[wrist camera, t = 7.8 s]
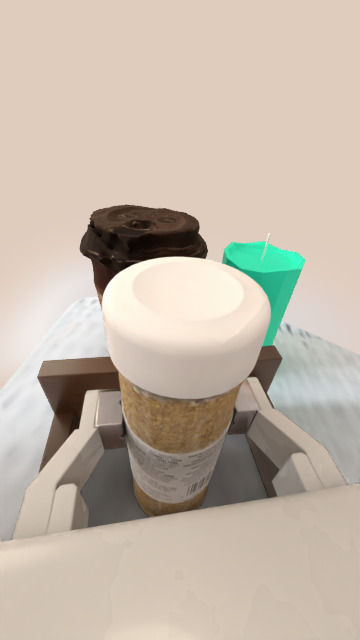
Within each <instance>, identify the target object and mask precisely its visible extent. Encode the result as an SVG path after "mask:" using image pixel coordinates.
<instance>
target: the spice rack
mask: <svg viewBox="0 0 360 640" xmlns="http://www.w3.org/2000/svg"><path fill="white" fill-rule="evenodd" d="M281 361H282V357H281V355H280V354H279V352H278V351H277V349H276V347H275V346H274V345H273V346H262V348H261V350H260V353H259V356H258V359H257V362H256V364H255V366H254V368H253V370H252V371H251V373H250V374H249V376H248V377H247V378H249V377H256V378H257V379H258V380H259V382H260V384H261V386H262V388H263V390H264V392H265V394H266V396H267V398H268V400H269V402H270V404H271V406H272V408H273V409H275V408H274V406H273V404H272V402H271V400H270V398H269V396H268V394H267V391H268V389H269V387H270V385H271V383H272V380H273V378H274V376H275V374H276V372H277V370H278V367H279V365H280V363H281ZM37 378H38V380H39V382H40V384H41V386H42V389H43V391H44V393H45V395H46V397H47V399H48V401H49V403H50V405H51V407H52V409H53V411H54V418H53V422H52V425H51V429H50V433H49V437H48V440H47V444H46V448H45V451H44V455H43V459H42V462H41V466H40V470H39V473H40V472H41V470H42V469H43V468H44V467H45V466H46V464H47V463H48V462H49V461H50V459H51V458H52V457H53V456H54V455H55V453H56V452H57V451H58V450H59V449H60V447H61V446H62V445H63V444H64V442H65V441H66V440H67V439H68V438H69V436H70V435H71V434H72V433H73V432H74V430H75V429H79V426H80V421H81V415H82V410H83V404H84V399H85V394H86V392H87V391H89V390H103V389H119V388H120V381H119V372H118V370H117V369H116V367H115V365H114V364H113V362H112V360H111V358H110V357H96V358H81V359H67V360H52V361H43V363H42V366H41V369H40V371H39V374H38V377H37ZM245 434H246V436H247V439H248V442H249V445H250V448H251V450H252V453H253V456H254V459H255V461H256V464H257V467H258V470H259V472H260V475H261V478H262V481H263V484H264V486H265V489H266V492H267V495H268V497H269V498H272V497H278V496H277V494H276V491H275V489H274V486H273V483H272V480H273V478H274V477H275V475H276V474H277V473H278V471H279V468H278V467H277V466H276V465H275V464H274V463H273V462H272V461H271V460H270V459H269V458H268V457H267V455H266V454H265V453H264V452H263V451H262V450H261V449H260V448H259V447H258V446H257V445H256V444H255V442H254V441H253V440H252V439H251V438H250V437H249V436H248V435H247V433H245ZM39 473H38V474H39Z"/></svg>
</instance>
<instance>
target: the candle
mask: <svg viewBox="0 0 360 640" xmlns="http://www.w3.org/2000/svg"><path fill="white" fill-rule="evenodd" d="M269 238H270V234H268V238H267V241H266V242H264V241H263V242H253V243H236V242H232V243H230V244H229V245H228V246H227V247H226V248H225V249H224V255H223V262H222V264H225V265H228V266H230V267H233V268H235V269H237V270H239V271H241V272H243V273H245V274H246V275H248V276H249V277H250V278H252V279H253V280H254V281H255V282H256V283H257V284H258V285H260V287H261V288H262V289H263V290H264V292H265V294H266V295H267V297H268V300H269V303H270V307H271V318H270V323H269V326H268V329H267V333H266V336H265V339H264V342H263V345H262V346H271V345H272V343H273V340H274V338H275V335H276V333H277V330H278V328H279V325H280V323H281V320H282V318H283V315H284V313H285V310H286V308H287V305H288V303H289V300H290V298H291V295H292V293H293V290H294V288H295V285H296V283H297V280H298V278H299V275H300V273H301V270H302V268H303V265H304V263H305V259H304V258H303V257H302V256H301V255H300V254H298V253H297V252H291V251H286V250H281V249H279V248H277V247H274V246H272V245H270V244H268V241H269Z"/></svg>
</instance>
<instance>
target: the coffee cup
mask: <svg viewBox="0 0 360 640" xmlns="http://www.w3.org/2000/svg"><path fill="white" fill-rule="evenodd" d="M90 220H91V221H90V224H89V225H88V230H87V232H86V233H85V234H84V236H83V238H82V240H81V244H80V252H81V253H82V254H83V255H84V256H86V257H88V258H90V259H91V261H92V264H93V271H94V283H95V287H96V289H97V293H98V298H99V301H100V304H101V308H102V299H103V294H104V291H105V289H106V287H107V285H108V284H109V282H110V281H111V280H112V279H113V278H114V277H115V276H116V275H117V274H118V273H120V272H121V271H123V270H124V269H126V268H128V267H130V266H132V265H134V264H137V263H140V262H143V261H147V260H151V259H156V258H164V257H192V258H201V259H205V258H206V256H207V252H208V250H207V245H206V242H205V241H204V240H203V238H202V237H201V236H200V234H198V232H199V222H198V220H197V219H196V218H194V217H192V216H191V215H188V214H187V213H184V212H178V211H173V210H169V209H166V208H162V209H160V208H159V209H154V208H148V207H142V206H134V205H121V206H113V207H110V208H103V209H99V210H96V211H94V212H93V214H92V215H91V218H90Z"/></svg>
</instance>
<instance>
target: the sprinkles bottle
mask: <svg viewBox="0 0 360 640" xmlns="http://www.w3.org/2000/svg"><path fill="white" fill-rule="evenodd" d="M102 312H103V319H104V327H105V333H106V340H107V346H108V351H109V355H110V358H111V360H112V362H113V364H114V365H115V367H116V369H117V370H118V372H119V381H120V389H121V395H122V411H123V418H124V425H125V431H126V439H127V445H128V452H129V458H130V464H131V469H132V473H133V490H134V495H135V497H136V499H137V501H138V504H139V505H140V507H141V508H142V510H143V511H144V512H145V513H146V514H147V515H148V516H150V517H156V516H162V515H168V514H174V513H180V512H186V511H192V510H197V509H198V508H199V507H200V506H201V504H202V502H203V500H204V497H205V495H206V492H207V487H208V482H209V481H210V478H211V476H212V473H213V471H214V468H215V465H216V462H217V460H218V457H219V455H220V452H221V449H222V446H223V444H224V441H225V438H226V435H227V432H228V429H229V426H230V423H231V420H232V417H233V410H234V407H235V404H236V400H237V396H238V393H239V390H240V388H241V385H242V383H243V382H244V381H245V379H246V378H247V377H248V376H249V374H250V373H251V371H252V370H253V368H254V366H255V364H256V362H257V359H258V356H259V353H260V350H261V348H262V345H263V342H264V339H265V336H266V333H267V329H268V326H269V323H270V318H271V307H270V303H269V300H268V297H267V295H266V294H265V292H264V290H263V289H262V288H261V287H260V285H258V284H257V283H256V282H255V281H254V280H253V279H252V278H250V277H249V276H248V275H246V274H245V273H243V272H241V271H239V270H237V269H235V268H233V267H230V266H228V265H225V264H222V263H219V262H215V261H211V260H207V259H201V258H192V257H164V258H156V259H151V260H147V261H143V262H140V263H137V264H134V265H132V266H130V267H128V268H126V269H124V270H123V271H121V272H120V273H118V274H117V275H116V276H115V277H114V278H113V279H112V280H111V281H110V282H109V284H108V285H107V287H106V289H105V291H104V294H103V299H102Z"/></svg>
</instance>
